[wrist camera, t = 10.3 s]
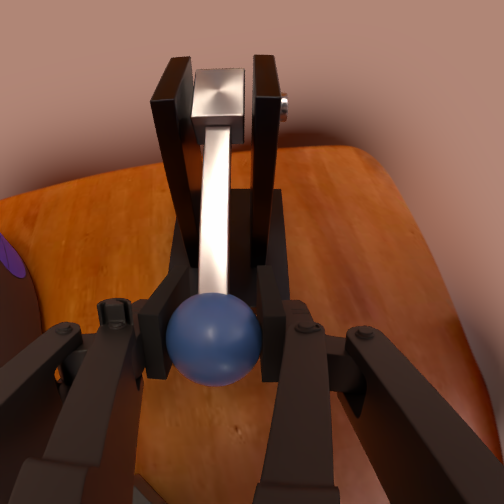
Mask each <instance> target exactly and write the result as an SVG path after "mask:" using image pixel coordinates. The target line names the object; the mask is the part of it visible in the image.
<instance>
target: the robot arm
mask: <svg viewBox="0 0 504 504" xmlns="http://www.w3.org/2000/svg"><path fill="white" fill-rule="evenodd" d="M189 297H190V281H189V265H175V266H174V267H173V268H172V270H171V271H170V272H169V273H168V275H167V276H166V277H165V279H164V280H163V281H162V282H161V284H160V285H159V286H158V288H157V289H156V290H155V292H154V293H153V294H152V295H151V297H150V298H149V299H148V300H146V299H140V300H138V301H136V302H134V303H132V304H131V301H130V300H128V299H124V298H112V299H107V300H103V301H101V302H99V303H98V304H97V309H98V315H99V321H100V327H99V329H98V331H97V333H93V334H81V329H80V326H79V325H78V324H76V323H69V322H62V323H59V324H57V325H55V326H53V327H51V328H50V329H48V330H47V331H46V332H45V333H43V334H42V335H41V336H40V337H38V338H37V339H36V340H35V341H33V342H32V343H31V344H30V345H28V346H27V347H26V348H25V349H23V350H22V351H21V352H20V353H18V354H17V355H16V356H15V357H13V358H12V359H11V360H10V361H9V362H7V363H6V364H5V365H4V366H3V367H1V368H0V504H133V486H134V471H135V458H136V447H137V437H138V427H139V418H140V410H141V402H142V394H143V386H144V382H143V377H142V372H143V370H144V368H146V373H147V378H149V379H161V380H166V379H167V377H168V374H169V371H170V368H171V366H172V361H171V359H170V357H169V354H168V351H167V346H166V330H167V326H168V323H169V320H170V318H171V316H172V314H173V313H174V311H175V310H176V308H177V307H178V306H179V305H180V304H181V303H182V302H184V301H185V300H186V299H188V298H189ZM256 315H257V319H258V321H259V323H260V326H261V331H262V348H261V353H260V362H261V374H262V382H278V388H277V394H276V399H275V405H274V411H273V417H272V422H271V428H270V433H269V439H268V444H267V449H266V454H265V460H264V465H263V470H262V475H261V479H260V483H257V486H256V490H255V494H254V498H253V503H252V504H340V492H339V488H338V486H335V487H334V479H333V445H332V423H331V405H330V391H336V392H337V395H338V398H339V400H340V402H341V404H342V406H343V408H344V410H345V412H346V414H347V416H348V418H349V420H350V422H351V424H352V426H353V428H354V430H355V432H356V434H357V436H358V438H359V440H360V442H361V444H362V446H363V449H364V451H365V453H366V455H367V457H368V459H369V461H370V463H371V465H372V467H373V469H374V471H375V473H376V475H377V477H378V479H379V481H380V483H381V485H382V487H383V489H384V491H385V493H386V495H387V497H388V499H389V501H390V504H504V466H503V465H502V464H501V463H500V461H499V460H498V459H497V458H496V457H495V456H494V454H493V453H492V452H491V451H490V450H489V449H488V447H487V446H486V445H485V444H484V443H483V442H482V440H481V439H480V438H479V437H478V436H477V435H476V434H475V433H474V431H473V430H472V429H471V428H470V427H469V426H468V425H467V423H466V422H465V421H464V420H463V419H462V418H461V417H460V416H459V415H458V413H457V412H456V411H455V410H454V409H453V408H452V407H451V406H450V405H449V403H448V402H447V401H446V400H445V399H444V398H443V397H442V396H441V395H440V394H439V392H438V391H437V390H436V389H435V388H434V387H433V386H432V385H431V384H430V383H429V382H428V381H427V379H426V378H425V377H424V376H423V375H422V374H421V373H420V372H419V371H418V370H417V369H416V368H415V367H414V366H413V364H412V363H411V362H410V361H409V360H408V359H407V358H406V357H405V356H404V355H403V354H402V353H401V352H400V351H399V350H398V349H397V348H396V347H395V345H394V344H393V343H392V342H391V341H390V340H389V339H388V338H387V337H386V336H385V335H384V334H383V333H382V332H381V331H379V330H378V329H375V328H373V327H370V326H368V327H367V326H357V327H352V328H350V329H348V331H347V333H346V338H342V337H334V336H329V335H326V334H325V329H324V327H323V326H322V325H320V324H319V323H316V322H314V321H313V319H312V316H311V314H310V312H309V310H308V308H307V306H306V304H305V303H303V302H302V301H300V300H281V296H280V293H279V290H278V286H277V283H276V280H275V276H274V273H273V270H272V266H271V265H257V302H256ZM56 368H58V371H59V374H60V377H61V378H60V379H59V380H58V381H56V379H55V376H54V374H55V370H56Z"/></svg>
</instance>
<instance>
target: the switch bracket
mask: <svg viewBox="0 0 504 504" xmlns="http://www.w3.org/2000/svg"><path fill="white" fill-rule="evenodd" d="M193 89H194V86H193V76H192V66H191V57H190V56H189V57H176V58H171V59H170V61H169V63H168V65H167V67H166V69H165V71H164V73H163V75H162V77H161V79H160V81H159V83H158V85H157V87H156V90H155V92H154V94H153V96H152V98H151V100H150V104H151V109H152V114H153V118H154V123H155V128H156V133H157V137H158V141H159V146H160V150H161V155H162V159H163V164H164V168H165V172H166V176H167V180H168V184H169V189H170V193H171V197H172V201H173V204H174V208H175V212H176V222H175V229H174V235H173V242H172V249H171V256H170V263H169V271H168V273H169V272H170V271H171V270H172V268H173V267H174V266H175V265H189V281H190V297H191V296H194V295H196V294H198V262H199V229H200V204H201V184H202V158H201V151H200V145H198V144H197V141H196V137H195V133H194V129H193V126H192V122H191V118H190V114H191V105H192V97H193ZM287 115H288V97H287V93H285V92H281V91H280V85H279V79H278V74H277V68H276V64H275V57H274V56H273V55H254V56H253V97H252V141H251V143H252V144H251V187H250V189H231V191H230V262H229V294H231V295H233V296H235V297H237V298H239V299H241V300H242V301H244V302H245V303H246V304H247V305H248V306H249V307H250V308H251V309H252V310H253V312H254V313H255V314H256V302H257V265H271V266H272V270H273V273H274V276H275V280H276V283H277V286H278V290H279V293H280V296H281V300H290V292H289V277H288V264H287V251H286V239H285V227H284V215H283V204H282V193H281V189H273V188H274V178H275V167H276V157H277V146H278V135H279V124H280V122H285V121H286V120H287Z"/></svg>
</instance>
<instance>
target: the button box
mask: <svg viewBox="0 0 504 504" xmlns="http://www.w3.org/2000/svg"><path fill="white" fill-rule="evenodd" d="M133 504H167V503H166V502H165V501H164V500H163V499H162V498H161V497H160V496H159V495H158V494H157V493H156V492H155V491H154V490H153V489H152V488H151V487H150V486H149V484H148V483H147V482H146V481H145V480H144V479H143V478H142V477H141V476H140V475H139V474H136V475H134V486H133Z"/></svg>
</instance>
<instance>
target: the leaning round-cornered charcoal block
mask: <svg viewBox="0 0 504 504" xmlns="http://www.w3.org/2000/svg"><path fill="white" fill-rule="evenodd" d="M41 335H42V331H41V319H40V312H39V306H38V301H37V296H36V292H35V289H34V285H33V282H32V279H31V277H30V274H29V272H28V270H27V268H26V266H25V264H24V262H23V260H22V259H21V257H20V256H19V254H18V253H17V252H16V250H15V249H14V248H13V247H12V246H11V245H10V244H9V242H8V241H7V240H6V239H5V238H4V237H3V235H2V234H1V233H0V368H1V367H3V366H4V365H5V364H6V363H7V362H9V361H10V360H11V359H12V358H13V357H15V356H16V355H17V354H18V353H20V352H21V351H22V350H23V349H25V348H26V347H27V346H28V345H30V344H31V343H32V342H33V341H35V340H36V339H37V338H38V337H40V336H41Z"/></svg>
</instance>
